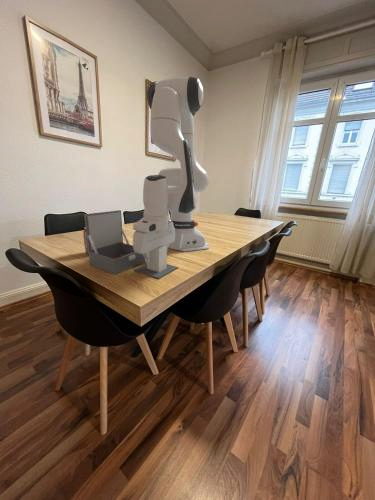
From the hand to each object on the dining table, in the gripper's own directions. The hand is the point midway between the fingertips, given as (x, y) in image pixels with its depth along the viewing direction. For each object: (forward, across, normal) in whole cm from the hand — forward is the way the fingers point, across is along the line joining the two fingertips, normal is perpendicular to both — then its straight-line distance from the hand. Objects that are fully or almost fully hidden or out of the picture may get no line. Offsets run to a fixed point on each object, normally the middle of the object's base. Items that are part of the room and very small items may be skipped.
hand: (156, 258), depth 79 cm
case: (+5, +4, -17) cm, 18 cm away
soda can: (+5, +2, -35) cm, 35 cm away
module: (+4, 0, 0) cm, 4 cm away
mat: (+5, 0, 0) cm, 5 cm away
